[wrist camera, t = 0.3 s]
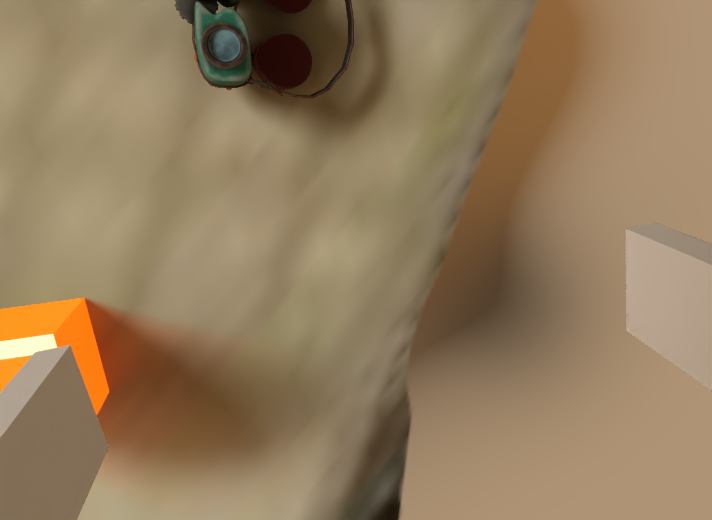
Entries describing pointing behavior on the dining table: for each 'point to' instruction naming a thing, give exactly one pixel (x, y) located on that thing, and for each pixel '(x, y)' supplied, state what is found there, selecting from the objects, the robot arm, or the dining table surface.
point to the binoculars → (232, 47)
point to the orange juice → (52, 341)
